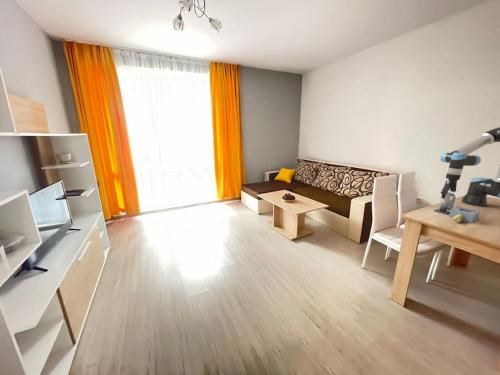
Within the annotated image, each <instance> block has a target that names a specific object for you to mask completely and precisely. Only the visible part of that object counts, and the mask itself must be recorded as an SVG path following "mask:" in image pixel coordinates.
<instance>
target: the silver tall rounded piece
mask: <svg viewBox="0 0 500 375" xmlns="http://www.w3.org/2000/svg"><path fill="white" fill-rule="evenodd" d="M454 195H455V193H454V194H452V193H449V191H448V192H447V196H446V200H445V203H443V202H442V203H441V202H440V205H441V206H439V209H440V210H439V211H441V212H446V211H448V209H447V208H448V204H449V201H450V198H451V196H454Z"/></svg>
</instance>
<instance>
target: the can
mask: <svg viewBox="0 0 500 375" xmlns="http://www.w3.org/2000/svg"><path fill="white" fill-rule="evenodd" d="M456 199H457V197H456V194H454V196H453V198H452V200H450V201H449V204H448V208H447V210H448V211H449V210H450V211H451V209H452V208H454V205H455V202H456ZM441 203H442V202H440V206H441ZM440 206H439V207H440Z"/></svg>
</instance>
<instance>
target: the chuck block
mask: <svg viewBox="0 0 500 375" xmlns="http://www.w3.org/2000/svg"><path fill="white" fill-rule="evenodd" d="M449 212H450V214H448V217H449V218H452V220H453V221H454V222H455V221H456V222H458V221H459V220H460V221H462V222H466V223H471V224H472V223H474V222H475V221H477V220H479V217H480V214H481V211H478V210H475V209H470V208H466V207H462V206H457V205H456V206H455V207H453V208H452V209H450V211H449Z"/></svg>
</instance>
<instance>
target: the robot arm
mask: <svg viewBox="0 0 500 375" xmlns="http://www.w3.org/2000/svg"><path fill="white" fill-rule="evenodd" d="M494 143H500V126H499V127H495V128H492V129H490V130H488V131H485V132H483V133H481V134H480V135H479V137H477V138H475V139H474V140H471V141H470V142H468V143H465V144H463V145H461V146H460V147H459V148H456V149H455V150H453V151H451V152H444V153H442V154H441V155H440V161H441V162H443V163H445V164H446V163H447V164H449V166H448V167H447V173H446V174H445V179H447V180H446V181H445V183H444V185H443V187H442V189H441V191H440V194H441V195H440V199H439V203H441V202H443V203H445V200H446V196H447V192H448V193H452V194H454V195H455V192H457V185H458V181H460V179H461V177H462V176H461V175H462V173H463V170H464V167H466V166H467V167H469V166H470V167H473V166H477V165H479V164H481V162H482V159H481V157H480V156H479V155H475V154H474V155H470V154H472V153H473V152H475V151H477V150H479V149H481V148H483V147H485V146H488V145H491V144H494ZM487 196H492V197H495V198H499V199H500V165H499V166H498V170H497V174H496V177H494V178H490V177H472V179H470V182H469V185H468V189H467V192H466V193H465V195H464V196H463V197H462V198H461V202H462V203H464V204H467V205H469V206H470V205H471V206H476V207H487V205H488V199H487ZM452 198H453V196H451V198H450V200H452Z"/></svg>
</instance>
